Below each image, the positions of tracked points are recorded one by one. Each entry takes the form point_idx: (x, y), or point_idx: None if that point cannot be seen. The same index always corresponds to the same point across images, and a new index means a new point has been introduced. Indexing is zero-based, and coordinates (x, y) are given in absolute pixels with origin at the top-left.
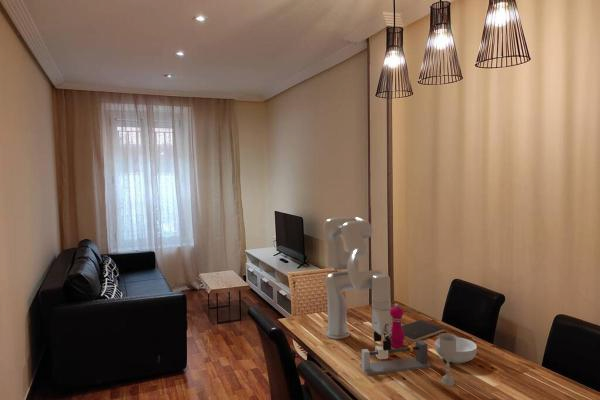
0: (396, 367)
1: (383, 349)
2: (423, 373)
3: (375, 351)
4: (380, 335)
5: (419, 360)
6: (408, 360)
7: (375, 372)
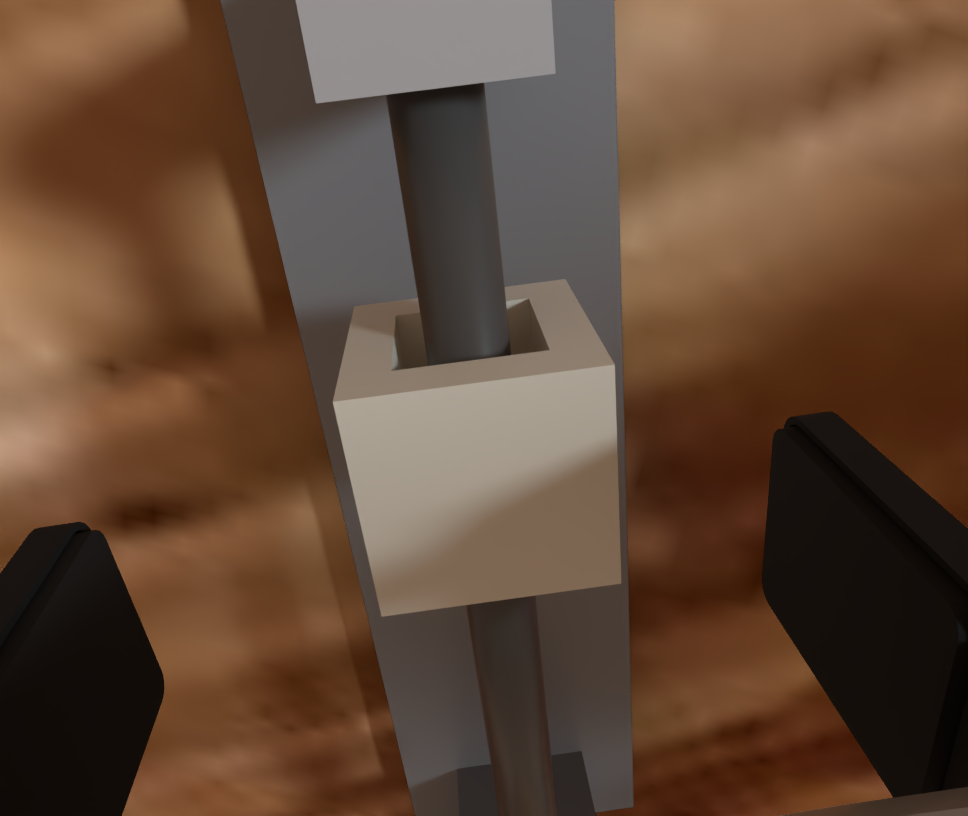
0: None
1: (42, 532)
2: (280, 728)
3: (447, 300)
4: (848, 698)
5: (492, 789)
6: (572, 680)
7: (257, 151)
